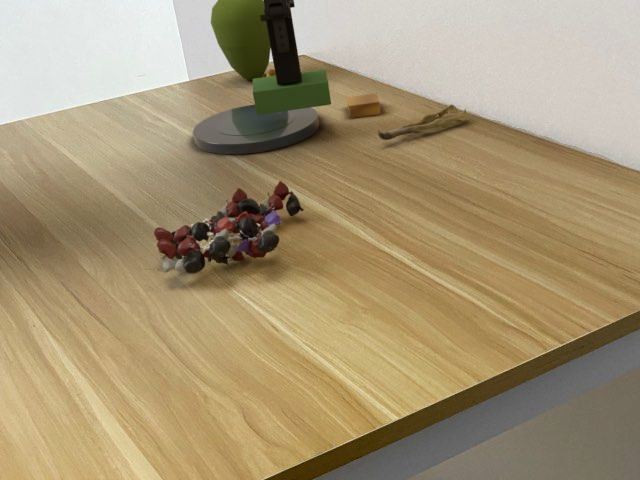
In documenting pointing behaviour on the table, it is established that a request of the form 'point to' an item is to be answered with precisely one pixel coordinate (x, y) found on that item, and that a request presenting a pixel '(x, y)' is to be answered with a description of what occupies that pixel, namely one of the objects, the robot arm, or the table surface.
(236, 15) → the green mango
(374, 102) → the orange flat block
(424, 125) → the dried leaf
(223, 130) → the plate
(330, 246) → the table surface
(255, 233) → the dark lumpy cluster
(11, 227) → the table surface
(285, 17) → the robot arm
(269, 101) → the sponge brush
